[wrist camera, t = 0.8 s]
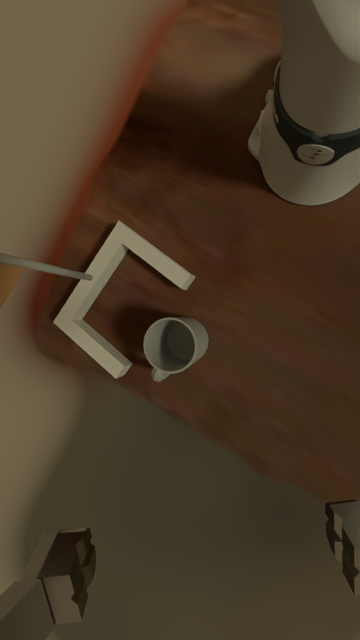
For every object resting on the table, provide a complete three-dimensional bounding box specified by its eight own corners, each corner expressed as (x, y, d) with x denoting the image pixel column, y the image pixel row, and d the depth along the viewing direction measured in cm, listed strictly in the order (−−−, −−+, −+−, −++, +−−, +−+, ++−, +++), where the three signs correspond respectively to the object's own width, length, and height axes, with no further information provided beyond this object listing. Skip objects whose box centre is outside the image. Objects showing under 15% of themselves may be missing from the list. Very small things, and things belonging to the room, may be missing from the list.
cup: (217, 332, 45) (207, 336, 37) (185, 386, 47) (168, 402, 38) (178, 308, 47) (159, 307, 38) (148, 361, 48) (124, 371, 40)
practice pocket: (195, 277, 46) (143, 247, 26) (124, 374, 49) (29, 416, 29) (127, 226, 49) (32, 162, 29) (64, 321, 52) (-60, 325, 32)
